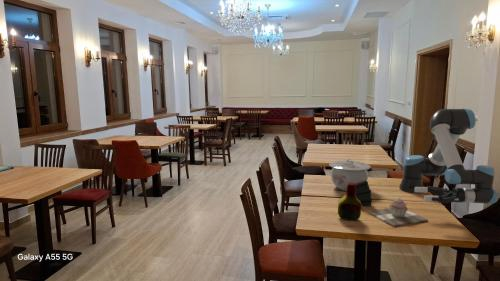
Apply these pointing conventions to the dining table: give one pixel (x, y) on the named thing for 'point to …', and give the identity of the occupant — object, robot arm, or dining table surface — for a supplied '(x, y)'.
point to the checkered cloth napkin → (397, 221)
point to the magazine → (363, 193)
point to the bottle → (349, 204)
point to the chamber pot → (348, 173)
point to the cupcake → (398, 208)
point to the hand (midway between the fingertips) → (419, 193)
